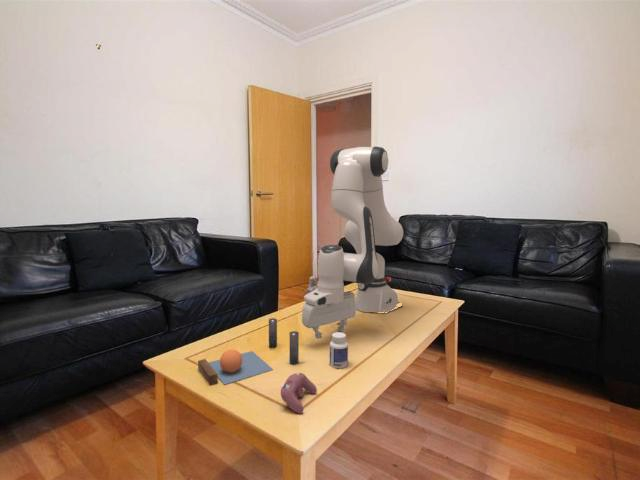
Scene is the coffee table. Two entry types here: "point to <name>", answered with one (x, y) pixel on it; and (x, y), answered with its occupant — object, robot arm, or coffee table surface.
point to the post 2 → (294, 347)
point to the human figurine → (311, 285)
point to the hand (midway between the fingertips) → (329, 334)
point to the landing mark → (242, 368)
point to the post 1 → (272, 333)
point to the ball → (231, 361)
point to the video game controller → (296, 390)
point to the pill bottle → (338, 350)
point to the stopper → (207, 372)
